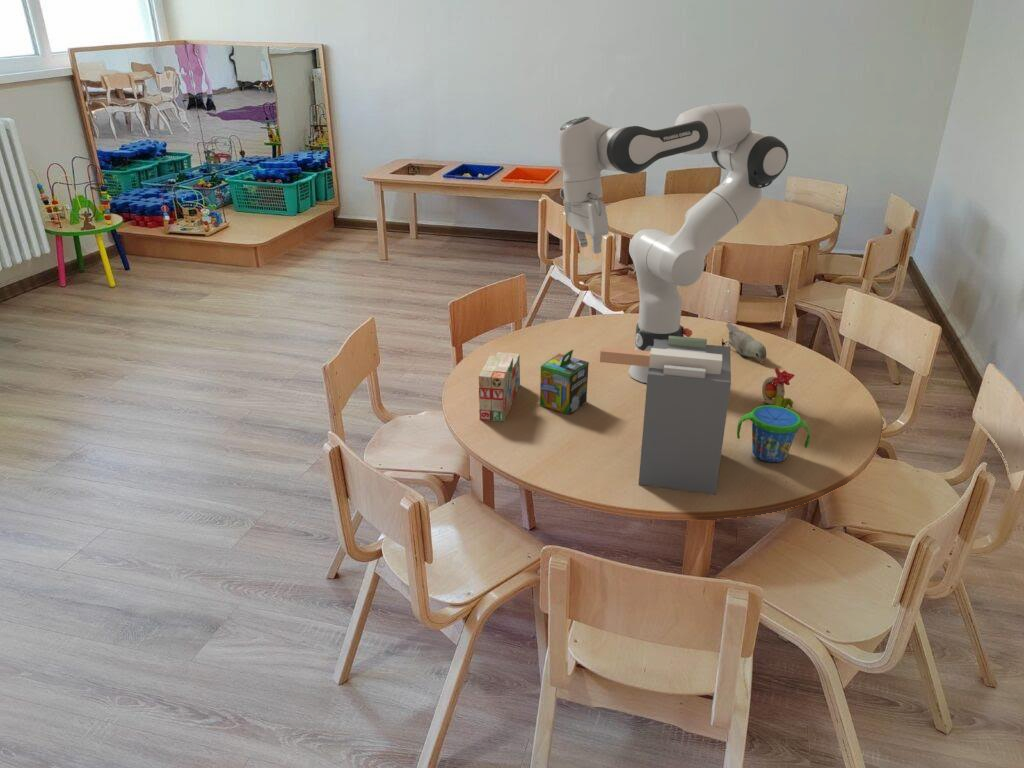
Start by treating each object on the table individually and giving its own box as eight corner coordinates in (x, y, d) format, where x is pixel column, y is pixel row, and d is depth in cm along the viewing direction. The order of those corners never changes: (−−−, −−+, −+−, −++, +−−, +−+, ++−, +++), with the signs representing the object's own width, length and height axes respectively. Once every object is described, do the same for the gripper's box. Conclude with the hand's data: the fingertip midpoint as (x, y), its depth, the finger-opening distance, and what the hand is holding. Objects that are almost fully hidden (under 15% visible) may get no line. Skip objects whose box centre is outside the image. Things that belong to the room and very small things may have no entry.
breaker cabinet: (638, 484, 164) (648, 367, 152) (645, 442, 180) (655, 333, 168) (715, 494, 161) (732, 375, 149) (716, 451, 177) (731, 340, 165)
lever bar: (599, 362, 158) (600, 349, 156) (601, 356, 161) (602, 343, 159) (720, 374, 153) (722, 360, 151) (720, 368, 155) (722, 354, 154)
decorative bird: (756, 367, 218) (759, 342, 215) (717, 347, 231) (720, 324, 228) (770, 363, 221) (774, 339, 217) (731, 344, 233) (734, 321, 230)
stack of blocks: (497, 383, 209) (497, 341, 204) (520, 385, 208) (520, 343, 203) (479, 420, 190) (478, 375, 185) (504, 422, 189) (503, 377, 184)
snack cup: (806, 450, 177) (814, 411, 173) (804, 473, 168) (812, 433, 164) (736, 438, 182) (742, 399, 178) (731, 459, 173) (736, 420, 169)
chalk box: (557, 392, 204) (559, 340, 197) (587, 402, 199) (590, 349, 192) (538, 406, 197) (539, 352, 190) (569, 415, 192) (571, 361, 186)
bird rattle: (756, 413, 198) (782, 414, 190) (749, 370, 197) (775, 369, 189) (774, 408, 200) (800, 409, 192) (767, 366, 199) (794, 365, 191)
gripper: (611, 192, 171) (618, 253, 176) (581, 185, 190) (588, 241, 195) (585, 198, 170) (592, 259, 175) (557, 190, 189) (564, 246, 194)
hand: (590, 249), depth 185 cm, fingers open, 8 cm apart
